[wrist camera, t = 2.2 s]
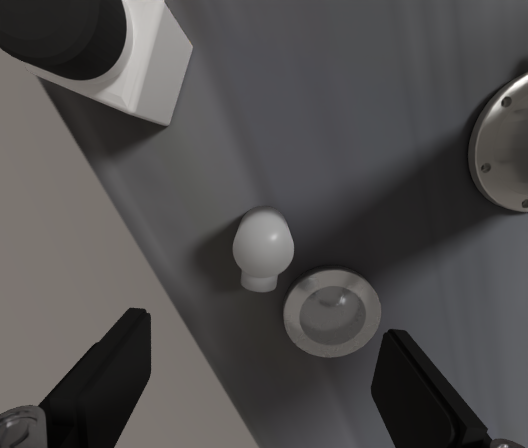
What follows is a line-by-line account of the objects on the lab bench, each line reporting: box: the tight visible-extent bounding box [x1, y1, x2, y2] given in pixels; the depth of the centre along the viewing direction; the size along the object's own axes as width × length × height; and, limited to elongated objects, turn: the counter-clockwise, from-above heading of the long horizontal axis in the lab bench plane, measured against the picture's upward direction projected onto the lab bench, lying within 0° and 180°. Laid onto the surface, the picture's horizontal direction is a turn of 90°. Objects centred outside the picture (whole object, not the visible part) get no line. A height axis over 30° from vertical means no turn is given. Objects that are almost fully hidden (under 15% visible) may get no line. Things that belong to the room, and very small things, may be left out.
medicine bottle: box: [0, 0, 193, 126], centre depth 17 cm, size 7×7×12 cm
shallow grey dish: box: [283, 265, 381, 357], centre depth 28 cm, size 10×10×2 cm
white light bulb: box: [233, 206, 294, 292], centre depth 24 cm, size 6×5×6 cm
